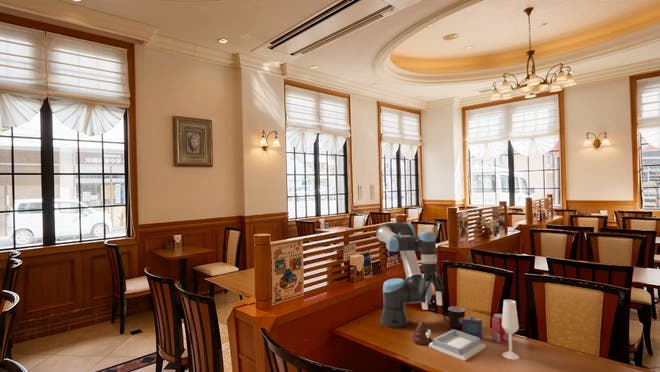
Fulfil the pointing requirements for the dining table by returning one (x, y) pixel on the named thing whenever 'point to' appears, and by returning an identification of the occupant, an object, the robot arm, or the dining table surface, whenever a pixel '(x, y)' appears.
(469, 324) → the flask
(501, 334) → the soda can
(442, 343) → the white square tray
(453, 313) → the coffee mug
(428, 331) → the poop emoji
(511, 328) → the champagne flute
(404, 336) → the dining table surface
